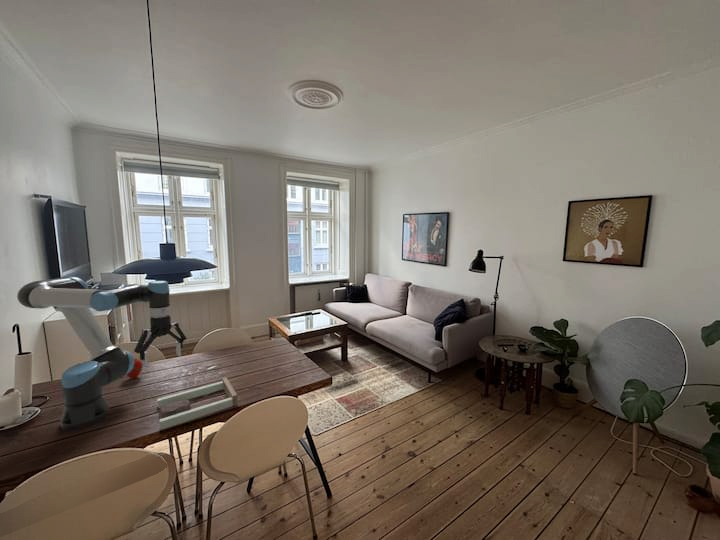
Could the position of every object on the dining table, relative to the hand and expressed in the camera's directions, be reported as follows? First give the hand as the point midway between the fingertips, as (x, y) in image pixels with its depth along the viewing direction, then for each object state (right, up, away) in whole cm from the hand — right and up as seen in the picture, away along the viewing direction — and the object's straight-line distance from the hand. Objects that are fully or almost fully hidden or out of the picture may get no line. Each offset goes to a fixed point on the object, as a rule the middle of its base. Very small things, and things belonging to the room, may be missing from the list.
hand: (162, 360), depth 131 cm
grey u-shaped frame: (+14, -22, +4) cm, 26 cm away
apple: (-34, -18, +27) cm, 47 cm away
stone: (+7, -23, -2) cm, 24 cm away
